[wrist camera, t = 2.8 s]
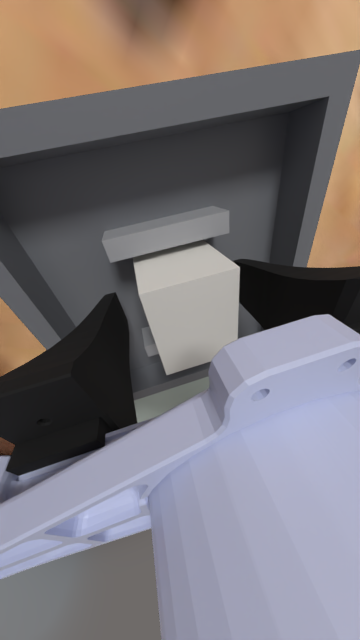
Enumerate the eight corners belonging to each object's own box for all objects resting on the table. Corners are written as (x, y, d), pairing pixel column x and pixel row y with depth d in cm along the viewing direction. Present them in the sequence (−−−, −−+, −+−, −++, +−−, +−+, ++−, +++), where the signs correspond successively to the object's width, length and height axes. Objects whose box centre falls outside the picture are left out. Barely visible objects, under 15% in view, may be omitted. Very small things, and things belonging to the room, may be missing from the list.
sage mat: (143, 436, 26) (143, 441, 25) (107, 386, 18) (107, 391, 18) (227, 407, 27) (229, 411, 26) (226, 349, 19) (229, 353, 19)
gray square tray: (103, 380, 17) (100, 411, 15) (-63, 146, 8) (-145, 132, 5) (263, 330, 19) (284, 351, 17) (301, 82, 9) (363, 48, 7)
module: (153, 320, 14) (166, 375, 10) (131, 253, 11) (138, 294, 7) (205, 305, 14) (236, 353, 11) (198, 236, 11) (239, 267, 7)
